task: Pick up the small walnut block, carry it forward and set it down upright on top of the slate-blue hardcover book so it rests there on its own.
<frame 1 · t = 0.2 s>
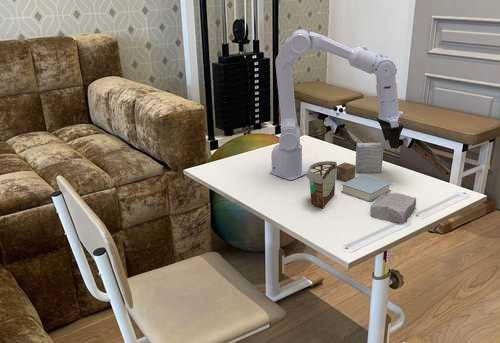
hand: (391, 143, 149), 11 cm above the table, tool pointing down, fingers open, 7 cm apart
food container: (318, 200, 139), on the table
medicine box: (368, 171, 158), on the table
book: (366, 191, 143), on the table
walnut block: (345, 179, 152), on the table
stone block: (391, 213, 131), on the table
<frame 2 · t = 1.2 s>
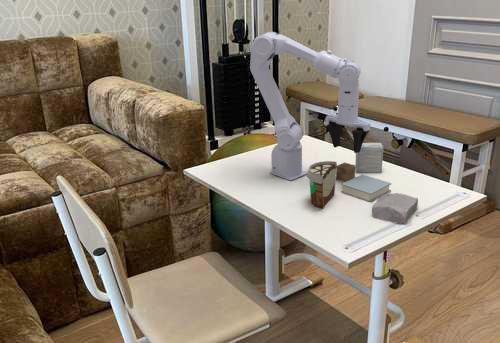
hand: (346, 149, 148), 10 cm above the table, tool pointing down, fingers open, 7 cm apart
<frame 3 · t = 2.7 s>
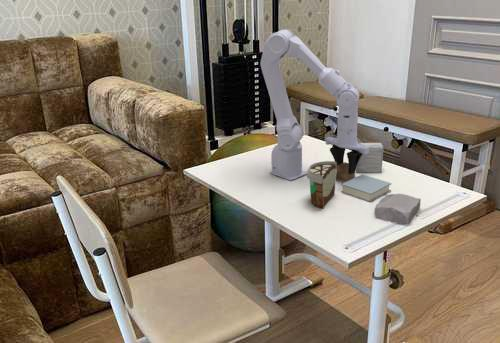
hand: (345, 171, 151), 3 cm above the table, tool pointing down, fingers closed on walnut block, 4 cm apart
walnut block: (345, 179, 152), on the table, touching gripper
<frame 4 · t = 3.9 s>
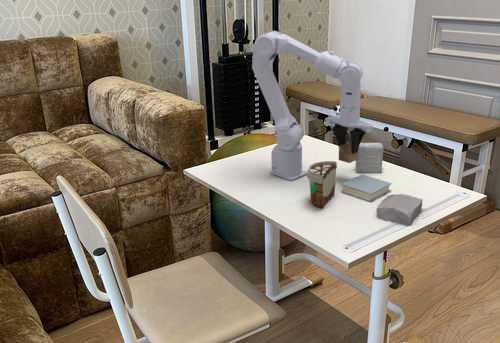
hand: (348, 150, 148), 9 cm above the table, tool pointing down, fingers closed on walnut block, 4 cm apart
walnut block: (348, 159, 149), point 7 cm above the table, touching gripper
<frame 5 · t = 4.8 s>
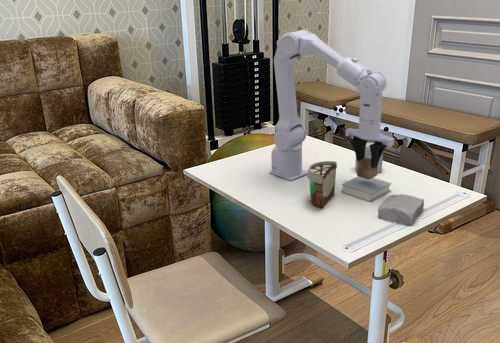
hand: (367, 164, 140), 8 cm above the table, tool pointing down, fingers closed on walnut block, 4 cm apart
walnut block: (367, 175, 141), point 5 cm above the table, touching gripper
when the fingers open (6 cm above the table, at t = 5.6 s): walnut block stays where it is, resting on book.
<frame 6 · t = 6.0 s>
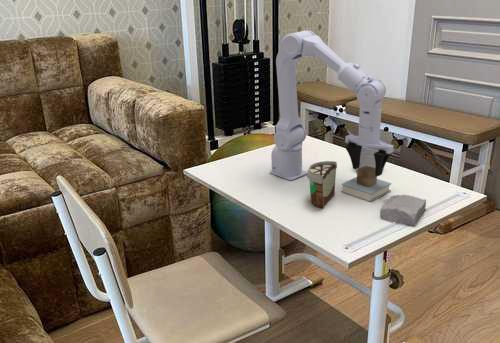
hand: (367, 171, 141), 6 cm above the table, tool pointing down, fingers open, 7 cm apart
walnut block: (366, 183, 142), point 2 cm above the table, touching book
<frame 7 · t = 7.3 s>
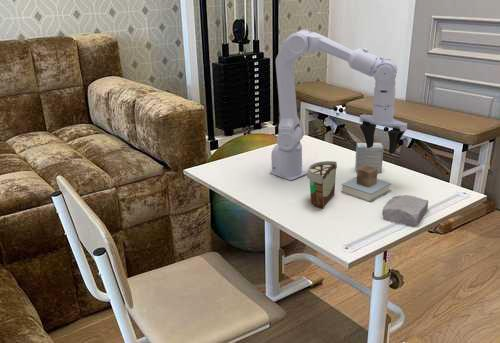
hand: (380, 149, 145), 10 cm above the table, tool pointing down, fingers open, 7 cm apart
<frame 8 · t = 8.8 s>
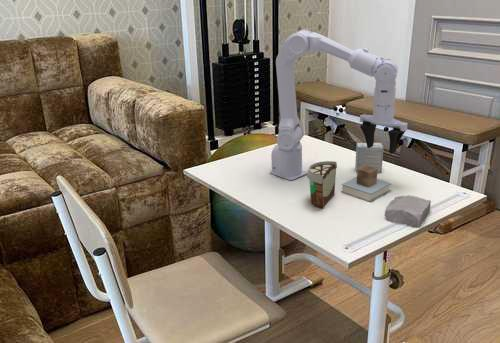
hand: (381, 149, 145), 10 cm above the table, tool pointing down, fingers open, 7 cm apart
at the end: walnut block inside the target area on the book (0.1 cm from its centre), point 2.5 cm above the book's base; walnut block touching book; walnut block tilted 0° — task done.
